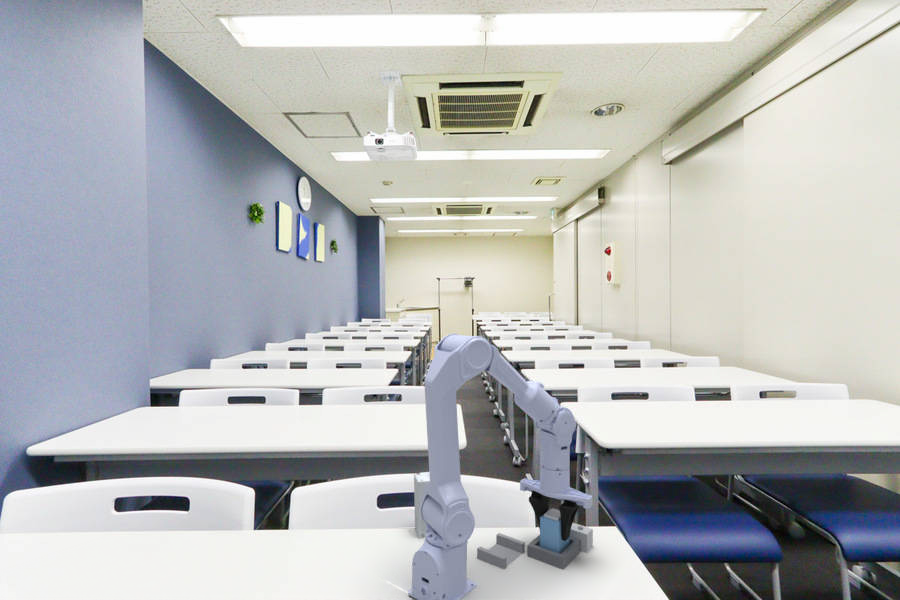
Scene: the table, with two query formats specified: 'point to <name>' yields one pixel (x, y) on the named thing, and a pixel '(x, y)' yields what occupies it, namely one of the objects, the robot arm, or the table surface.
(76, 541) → the table surface
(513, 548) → the grey u-shaped bracket
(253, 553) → the table surface
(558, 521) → the plug
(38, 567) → the table surface
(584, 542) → the port
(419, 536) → the skincare box
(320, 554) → the table surface
